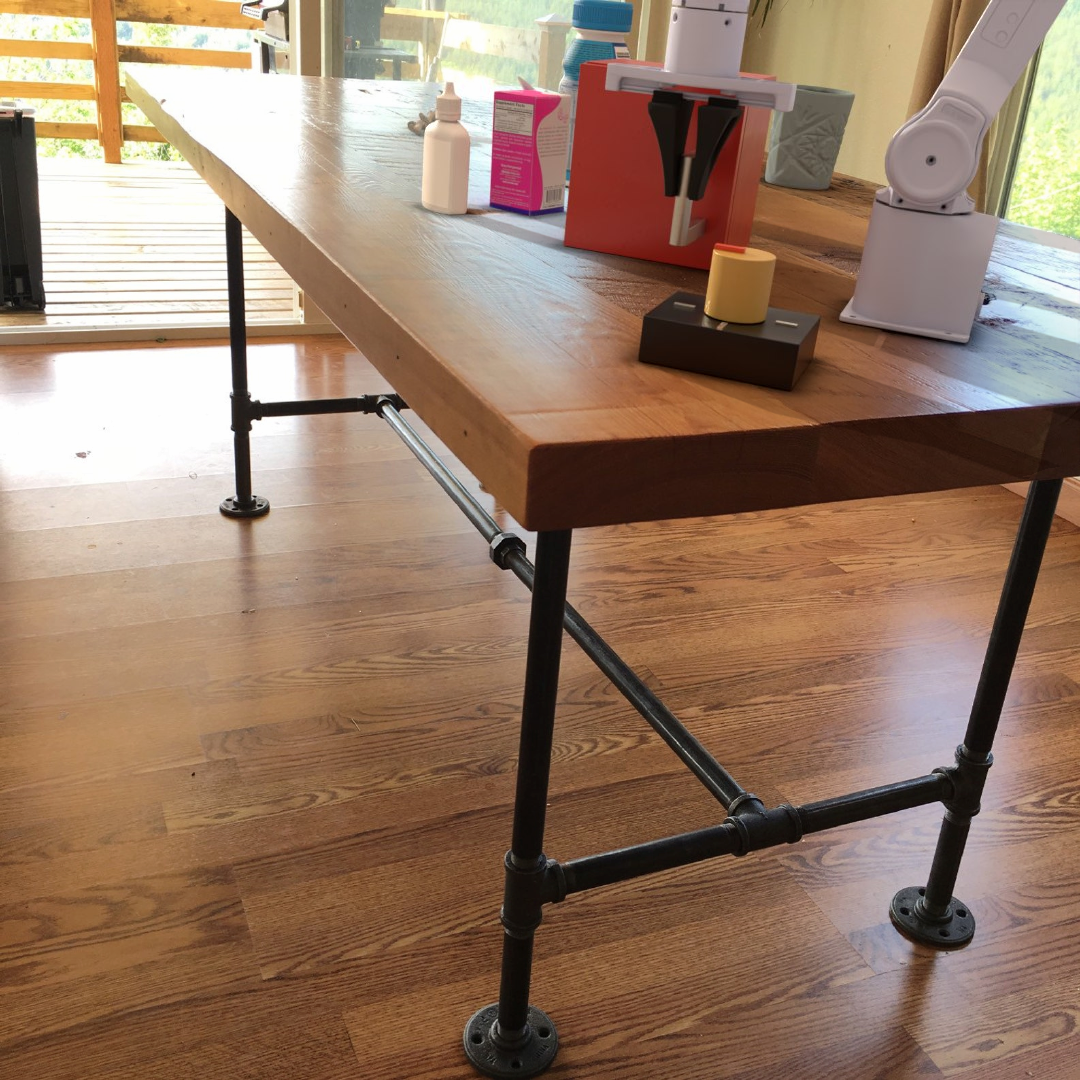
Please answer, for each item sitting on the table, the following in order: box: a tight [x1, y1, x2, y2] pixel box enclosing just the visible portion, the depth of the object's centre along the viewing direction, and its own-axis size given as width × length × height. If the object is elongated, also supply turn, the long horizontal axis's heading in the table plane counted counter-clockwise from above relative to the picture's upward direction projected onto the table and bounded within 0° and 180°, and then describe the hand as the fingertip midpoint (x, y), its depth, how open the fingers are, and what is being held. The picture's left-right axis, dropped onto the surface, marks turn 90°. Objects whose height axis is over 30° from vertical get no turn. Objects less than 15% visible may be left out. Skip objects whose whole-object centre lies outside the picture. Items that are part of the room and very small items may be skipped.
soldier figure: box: [406, 89, 444, 136], centre depth 166 cm, size 8×5×12 cm
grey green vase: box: [764, 84, 856, 191], centre depth 147 cm, size 10×10×12 cm
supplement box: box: [488, 89, 571, 217], centre depth 114 cm, size 6×6×12 cm
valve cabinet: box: [586, 58, 778, 248], centre depth 101 cm, size 10×15×16 cm
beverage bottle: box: [558, 0, 634, 188], centre depth 130 cm, size 8×8×20 cm
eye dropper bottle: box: [421, 81, 471, 216], centre depth 110 cm, size 4×6×12 cm
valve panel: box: [637, 290, 822, 392], centre depth 74 cm, size 10×8×3 cm
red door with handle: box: [563, 63, 748, 272], centre depth 94 cm, size 8×15×15 cm, turn 68°
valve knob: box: [704, 243, 777, 323], centre depth 72 cm, size 4×4×4 cm
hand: (684, 197), depth 90 cm, fingers closed on red door with handle
